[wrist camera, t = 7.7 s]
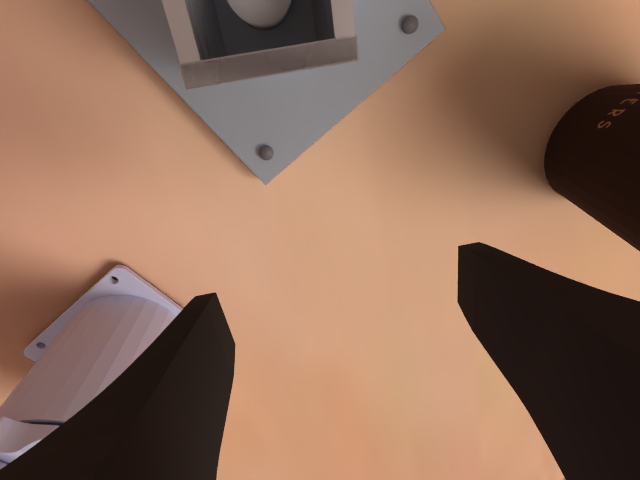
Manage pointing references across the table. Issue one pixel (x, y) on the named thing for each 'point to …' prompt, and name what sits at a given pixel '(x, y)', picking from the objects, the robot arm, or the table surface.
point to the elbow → (217, 68)
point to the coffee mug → (601, 158)
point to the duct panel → (282, 89)
